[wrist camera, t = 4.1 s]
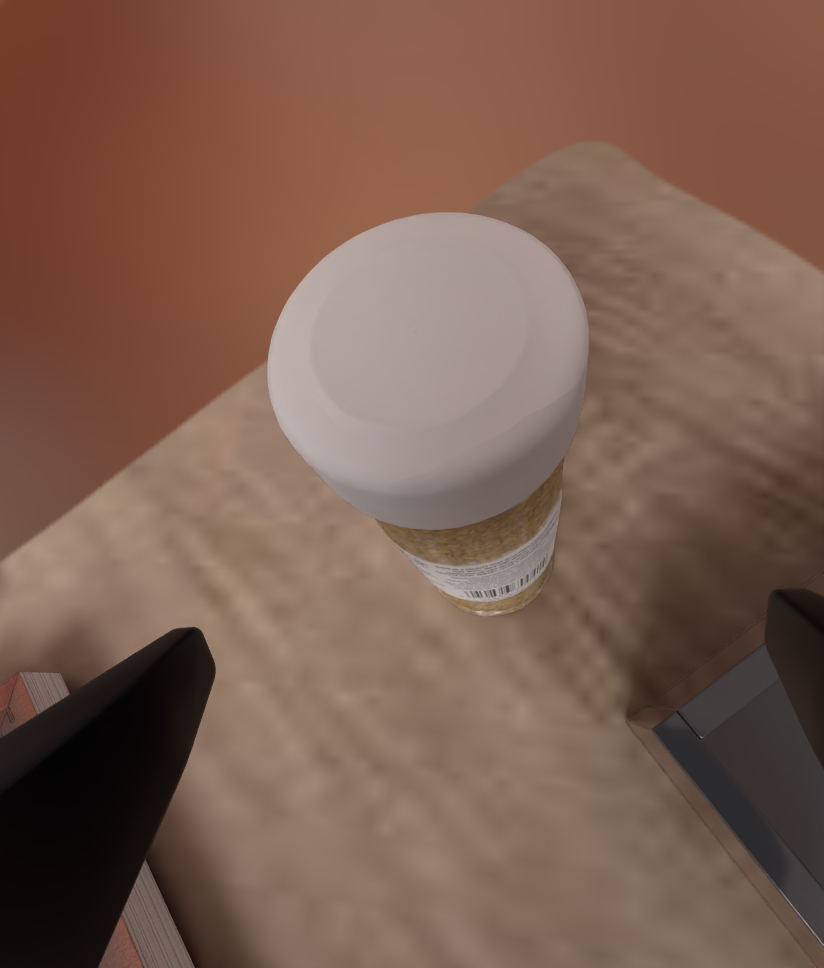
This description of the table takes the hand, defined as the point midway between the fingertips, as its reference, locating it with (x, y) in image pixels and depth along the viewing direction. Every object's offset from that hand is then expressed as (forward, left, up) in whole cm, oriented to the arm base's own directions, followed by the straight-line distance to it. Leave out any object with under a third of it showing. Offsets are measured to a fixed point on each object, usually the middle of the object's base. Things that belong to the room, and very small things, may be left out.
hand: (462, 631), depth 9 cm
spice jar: (+2, +3, -11) cm, 11 cm away
